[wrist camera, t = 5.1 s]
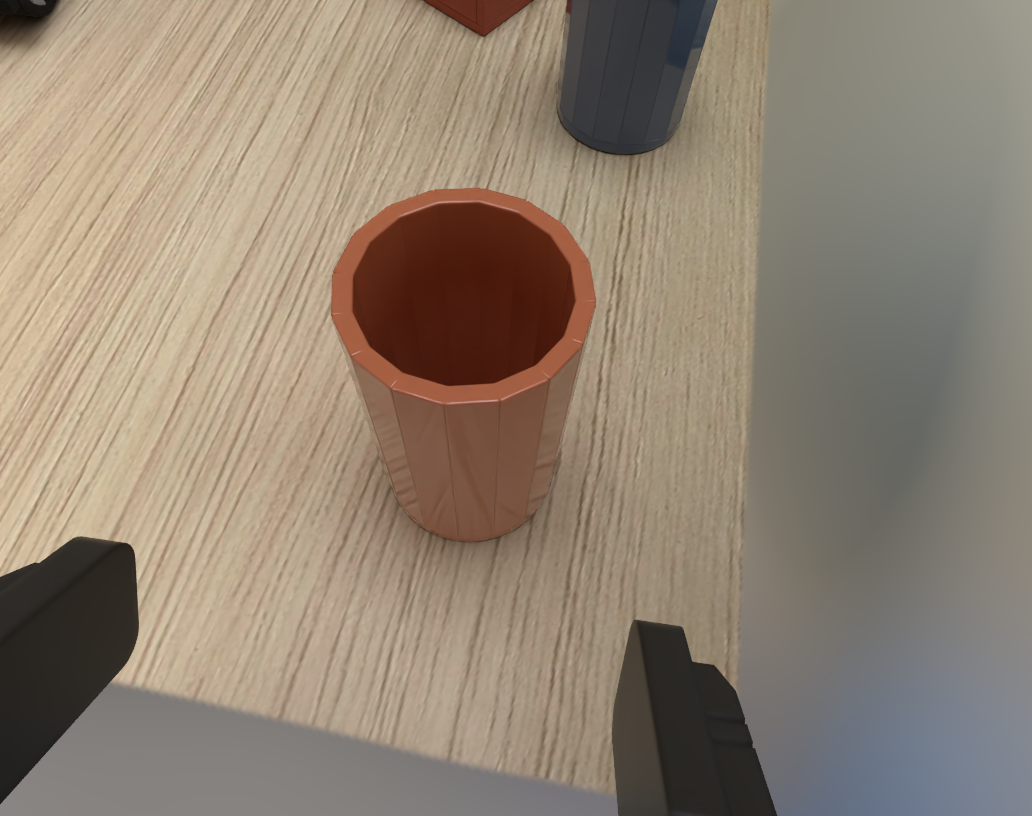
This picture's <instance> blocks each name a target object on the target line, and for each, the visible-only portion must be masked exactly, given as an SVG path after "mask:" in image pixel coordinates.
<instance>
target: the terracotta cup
mask: <svg viewBox="0 0 1032 816" xmlns="http://www.w3.org/2000/svg"><path fill="white" fill-rule="evenodd" d="M595 308H596V297H595V291H594V285H593V279H592V273H591V267H590V263H589V261H588V258H587V257H586V255H585V254H584V253H583V251H582V250H581V248H580V247H579V245H578V244H577V243H576V241H575V240H574V238H573V237H572V235H571V234H570V232H569V231H568V230H567V228H566V227H565V226H564V225H563V224H562V223H560V222H559V221H557V220H556V219H554V218H553V217H551V216H550V215H548V214H547V213H545V212H544V211H542V210H541V209H539V208H538V207H536V206H535V205H533V204H532V203H530V202H529V201H526V200H524V199H521V198H517V197H513V196H509V195H506V194H502V193H498V192H495V191H491V190H487V189H480V188H466V189H439V190H434V191H433V190H431V191H428V192H425V193H423V194H420V195H417V196H414V197H411V198H408V199H406V200H403V201H400V202H397V203H394V204H392V205H390V206H387V207H386V208H385V209H383V210H382V211H381V212H380V213H379V214H377V215H376V216H375V217H374V218H372V219H371V220H370V221H369V222H367V223H366V224H365V225H364V226H362V227H361V228H360V229H359V230H357V231H356V232H355V233H354V235H353V236H352V237H351V239H350V241H349V243H348V245H347V247H346V249H345V250H344V252H343V254H342V256H341V258H340V260H339V262H338V263H337V265H336V267H335V269H334V271H333V275H332V296H331V316H332V321H333V324H334V327H335V330H336V333H337V336H338V338H339V341H340V344H341V347H342V350H343V353H344V356H345V359H346V362H347V364H348V367H349V370H350V373H351V376H352V379H353V382H354V385H355V388H356V391H357V393H358V396H359V399H360V402H361V405H362V408H363V411H364V414H365V417H366V419H367V422H368V425H369V428H370V431H371V434H372V437H373V440H374V443H375V445H376V448H377V451H378V454H379V457H380V460H381V463H382V466H383V469H384V471H385V474H386V477H387V479H388V482H389V484H390V486H391V488H392V491H393V493H394V496H395V498H396V500H397V501H398V503H399V505H400V506H401V508H402V509H403V510H404V512H405V513H406V514H407V515H408V516H409V517H410V518H411V519H412V520H413V521H414V522H415V523H417V524H418V525H419V526H421V527H422V528H424V529H425V530H427V531H429V532H431V533H433V534H435V535H438V536H440V537H443V538H447V539H451V540H456V541H465V542H468V541H483V540H489V539H492V538H496V537H499V536H502V535H504V534H507V533H509V532H511V531H512V530H514V529H516V528H518V527H519V526H520V525H522V524H523V523H524V522H526V521H527V520H528V519H529V518H530V517H531V516H532V515H533V514H534V513H535V512H536V510H537V509H538V508H539V506H540V505H541V504H542V502H543V500H544V498H545V496H546V495H547V493H548V489H549V487H550V484H551V480H552V477H553V473H554V470H555V467H556V463H557V459H558V455H559V451H560V447H561V443H562V439H563V435H564V431H565V427H566V423H567V419H568V415H569V411H570V407H571V403H572V399H573V395H574V391H575V387H576V383H577V379H578V375H579V371H580V367H581V364H582V360H583V356H584V352H585V348H586V344H587V340H588V336H589V332H590V328H591V324H592V320H593V316H594V312H595Z"/></svg>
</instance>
